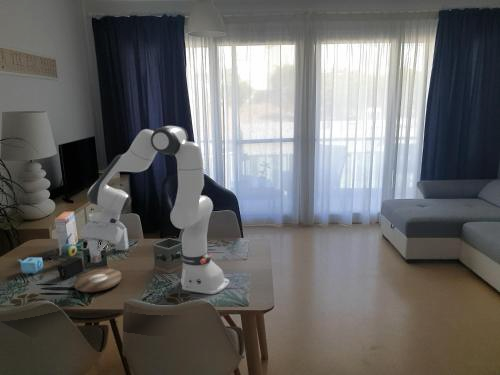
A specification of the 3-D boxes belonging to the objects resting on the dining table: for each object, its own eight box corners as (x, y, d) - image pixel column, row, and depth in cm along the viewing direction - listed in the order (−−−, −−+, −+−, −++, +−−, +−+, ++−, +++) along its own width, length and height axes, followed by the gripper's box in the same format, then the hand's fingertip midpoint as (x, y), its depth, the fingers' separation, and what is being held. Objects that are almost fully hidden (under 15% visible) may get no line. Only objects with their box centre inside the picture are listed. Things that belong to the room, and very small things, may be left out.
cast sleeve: (103, 259, 167) (101, 239, 165) (95, 263, 164) (92, 242, 161) (96, 257, 170) (94, 237, 167) (88, 261, 166) (86, 240, 164)
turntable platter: (131, 276, 172) (130, 273, 172) (94, 296, 155) (94, 292, 155) (102, 268, 182) (101, 265, 182) (64, 285, 165) (64, 282, 165)
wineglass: (105, 250, 209) (101, 216, 205) (90, 250, 209) (86, 216, 205) (111, 244, 217) (107, 212, 213) (96, 244, 217) (92, 212, 213)
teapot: (15, 275, 180) (13, 260, 178) (23, 269, 186) (20, 255, 184) (39, 274, 180) (37, 260, 178) (46, 269, 186) (44, 255, 184)
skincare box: (128, 247, 212) (126, 227, 209) (125, 250, 208) (123, 230, 205) (118, 247, 213) (116, 227, 210) (115, 250, 209) (113, 230, 206)
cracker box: (68, 245, 217) (63, 211, 212) (78, 245, 217) (74, 211, 213) (58, 255, 203) (53, 218, 198) (70, 254, 204) (65, 218, 199)
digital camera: (75, 269, 185) (73, 256, 184) (83, 271, 183) (82, 257, 182) (57, 278, 176) (55, 264, 174) (66, 280, 174) (64, 266, 172)
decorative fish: (68, 264, 196) (77, 265, 194) (53, 254, 186) (63, 256, 184) (78, 242, 203) (87, 243, 201) (65, 232, 193) (74, 232, 191)
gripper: (85, 216, 172) (71, 243, 166) (121, 221, 166) (108, 249, 159) (93, 223, 178) (79, 249, 171) (128, 227, 171) (116, 255, 164)
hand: (93, 249), depth 165 cm, fingers closed on cast sleeve, 4 cm apart
